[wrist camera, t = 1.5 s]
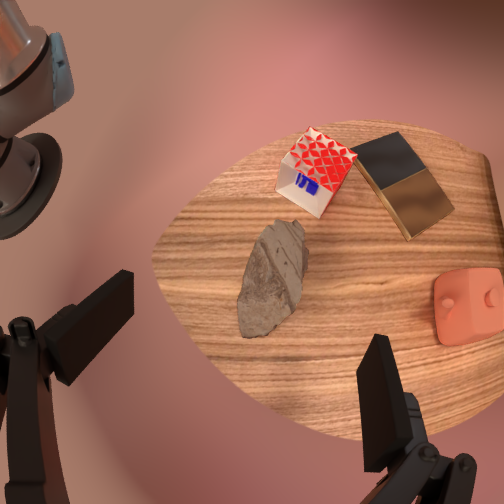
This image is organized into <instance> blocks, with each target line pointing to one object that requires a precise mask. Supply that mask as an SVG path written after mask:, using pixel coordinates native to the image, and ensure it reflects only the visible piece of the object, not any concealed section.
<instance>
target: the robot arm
mask: <svg viewBox="0 0 504 504" xmlns="http://www.w3.org/2000/svg"><path fill="white" fill-rule="evenodd" d="M73 94H74V84H73V79H72V75H71V71H70V66H69V62H68V58H67V54H66V51H65V47H64V43H63V40H62V36H61V35H60V33H59V32H56V33H52V34H50V35H49V36H48V35H47V34H46V32H45V30H44V29H43V28H42V27H40V26H29V25H28V23H27V21H26V20H25V18H24V16H23V14H22V12H21V10H20V8H19V6H18V4H17V3H16V1H15V0H0V218H2V217H6V216H9V215H11V214H13V213H14V212H16V211H17V210H18V209H19V208H21V207H22V206H23V205H24V204H25V202H26V201H27V200H28V199H29V197H30V196H31V195H32V193H33V191H34V190H35V188H36V186H37V184H38V182H39V179H40V177H41V173H42V168H43V159H42V156H41V154H40V152H39V151H38V150H37V148H36V147H35V146H34V145H32V144H30V143H28V142H26V141H24V140H22V139H20V138H18V137H16V136H14V135H16V134H17V133H19V132H20V131H22V130H23V129H25V128H27V127H28V126H30V125H31V124H33V123H35V122H36V121H38V120H39V119H41V118H43V117H44V116H46V115H48V114H50V113H51V112H54V111H55V110H56V109H57V108H59V107H60V106H62V105H63V104H65V103H66V102H68V101H69V100H70V99H71V98H72V96H73ZM133 315H134V273H133V272H130V271H126V270H123V269H122V270H120V271H119V272H118V273H117V274H115V275H114V276H113V277H112V278H110V279H109V280H108V281H106V282H105V283H104V284H103V285H101V286H100V287H99V288H98V289H96V290H95V291H94V292H93V293H91V294H90V295H89V296H88V297H87V298H85V299H84V300H83V301H82V302H80V303H79V304H78V305H77V306H76V305H74V304H71V305H68V306H66V307H63V308H62V309H61V310H60V311H59V312H57V314H55V315H54V316H53V317H52V318H50V319H49V320H48V321H46V322H45V323H44V324H43V325H42V326H40V327H39V328H38V329H37V330H35V326H34V322H33V320H32V319H31V318H28V317H17V318H15V319H13V320H12V321H11V322H10V323H9V325H8V329H9V332H10V335H11V336H10V335H6V334H4V332H3V329H2V327H1V326H0V430H1V426H2V422H3V418H4V414H5V411H6V407H7V453H8V467H9V477H10V480H9V482H8V483H6V484H5V498H6V504H70V502H69V498H68V494H67V490H66V486H65V482H64V477H63V472H62V468H61V462H60V457H59V452H58V445H57V438H56V431H55V424H54V413H53V403H52V389H51V379H50V375H51V374H52V372H53V371H54V372H55V376H56V378H57V380H58V381H60V382H62V383H63V384H65V385H67V386H70V385H71V384H72V383H73V381H74V380H75V379H76V378H77V377H78V375H80V373H81V372H82V371H83V370H84V369H85V368H86V367H87V365H88V364H89V363H90V362H91V361H92V360H93V359H94V358H95V356H96V355H97V354H98V353H99V352H100V351H101V350H102V349H103V347H104V346H105V345H106V344H107V343H108V342H109V341H110V340H111V339H112V338H113V336H114V335H115V334H116V333H117V332H118V331H119V330H120V329H121V328H122V326H124V324H125V323H126V322H127V321H128V320H129V319H130V318H131V317H132V316H133ZM356 375H357V384H358V393H359V403H360V414H361V425H362V439H363V454H364V472H377V473H380V472H381V471H382V470H383V469H384V468H386V467H387V471H388V474H387V475H386V476H384V477H383V478H382V479H381V480H380V481H379V482H378V483H377V486H376V487H375V488H374V489H373V490H372V491H371V492H370V493H369V494H368V495H367V496H366V497H365V499H364V500H363V501H362V502H361V503H360V504H411V503H412V502H413V500H414V499H415V498H416V496H417V495H418V497H417V500H416V503H415V504H470V503H471V498H472V493H473V488H474V483H475V477H476V471H477V464H476V462H475V460H474V458H473V457H472V456H470V455H469V454H465V453H462V454H459V455H458V456H456V457H455V459H452V458H448V457H444V456H441V455H439V451H438V450H437V448H436V447H435V446H434V445H433V444H431V443H429V442H428V439H427V434H426V430H425V426H424V422H423V418H422V414H421V411H420V407H419V403H418V401H417V399H416V398H415V396H414V395H413V394H412V393H407V392H403V388H402V384H401V380H400V377H399V373H398V369H397V366H396V362H395V359H394V355H393V352H392V348H391V345H390V342H389V338H388V336H385V335H380V334H374V337H373V339H372V341H371V343H370V345H369V347H368V349H367V351H366V353H365V355H364V357H363V359H362V361H361V363H360V365H359V367H358V369H357V371H356Z"/></svg>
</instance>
